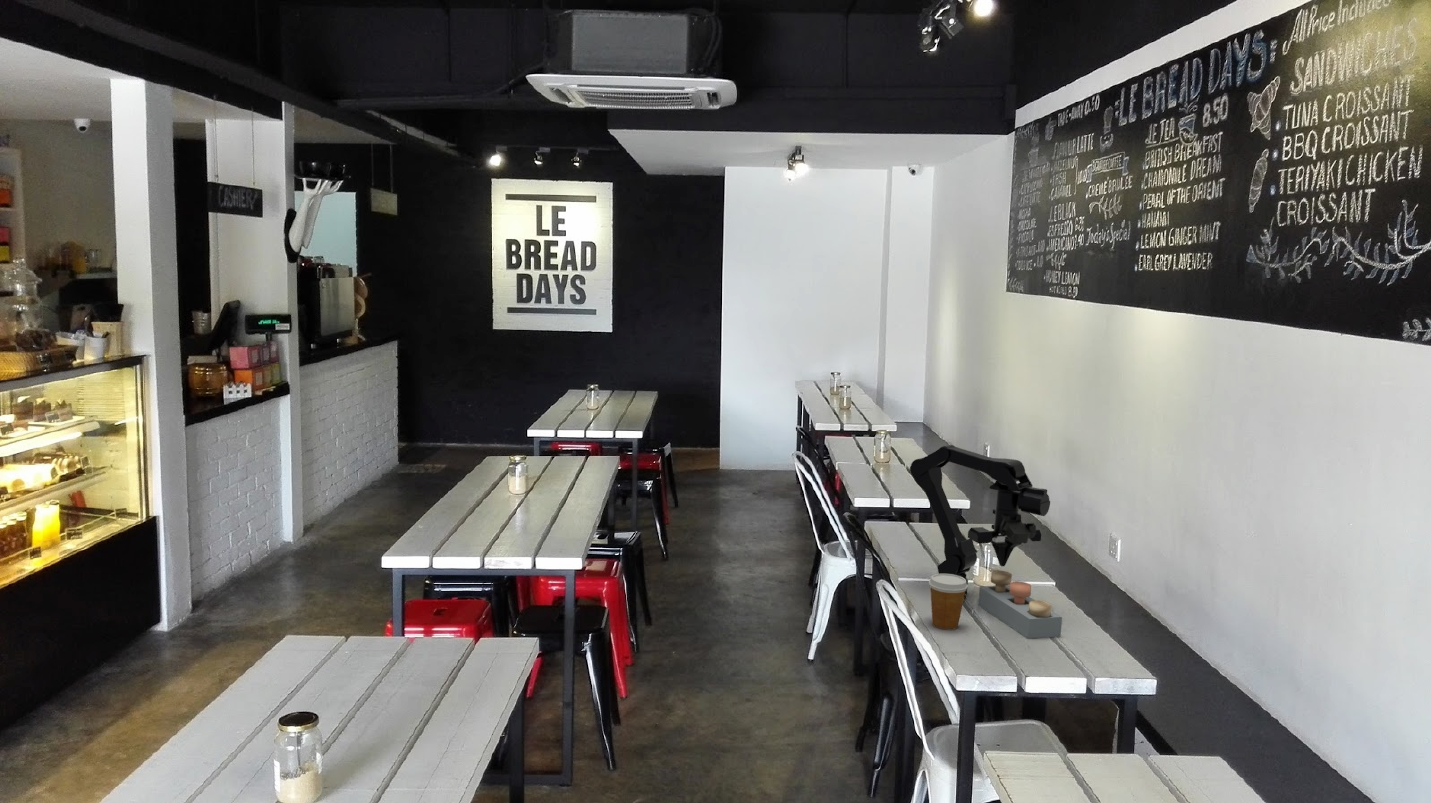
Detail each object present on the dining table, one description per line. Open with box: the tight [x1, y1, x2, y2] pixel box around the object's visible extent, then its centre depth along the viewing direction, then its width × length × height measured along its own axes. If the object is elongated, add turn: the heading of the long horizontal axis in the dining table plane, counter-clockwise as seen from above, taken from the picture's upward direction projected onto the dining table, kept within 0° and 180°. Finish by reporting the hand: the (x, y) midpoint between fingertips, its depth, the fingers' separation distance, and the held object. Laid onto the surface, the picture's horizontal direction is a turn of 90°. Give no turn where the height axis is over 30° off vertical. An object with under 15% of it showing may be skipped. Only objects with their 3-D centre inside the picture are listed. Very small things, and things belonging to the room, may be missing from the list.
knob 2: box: [1029, 599, 1052, 618], centre depth 251 cm, size 5×5×7 cm
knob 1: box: [990, 569, 1013, 593], centre depth 268 cm, size 5×5×7 cm
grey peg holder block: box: [977, 585, 1063, 640], centre depth 260 cm, size 9×24×5 cm, turn 15°
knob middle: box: [1009, 580, 1032, 605], centre depth 259 cm, size 5×5×7 cm
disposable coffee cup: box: [928, 573, 969, 630], centre depth 254 cm, size 10×10×12 cm
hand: (1002, 565), depth 267 cm, fingers closed
